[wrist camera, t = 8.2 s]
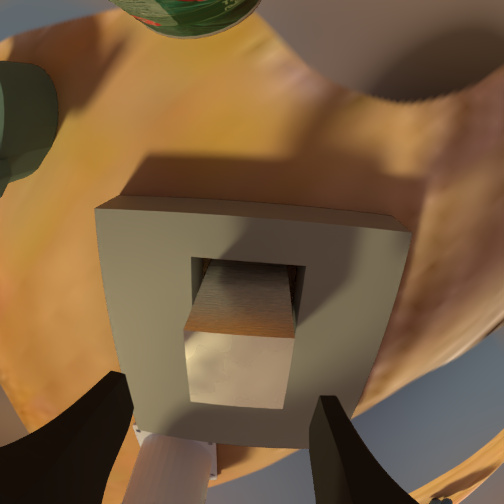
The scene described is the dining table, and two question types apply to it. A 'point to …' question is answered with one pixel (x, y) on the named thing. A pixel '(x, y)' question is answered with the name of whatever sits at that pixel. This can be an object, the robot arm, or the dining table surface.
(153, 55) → the dining table surface
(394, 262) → the well board
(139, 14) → the canned tomato
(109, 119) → the dining table surface
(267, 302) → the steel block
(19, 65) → the bracket
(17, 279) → the dining table surface
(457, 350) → the dining table surface
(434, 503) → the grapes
